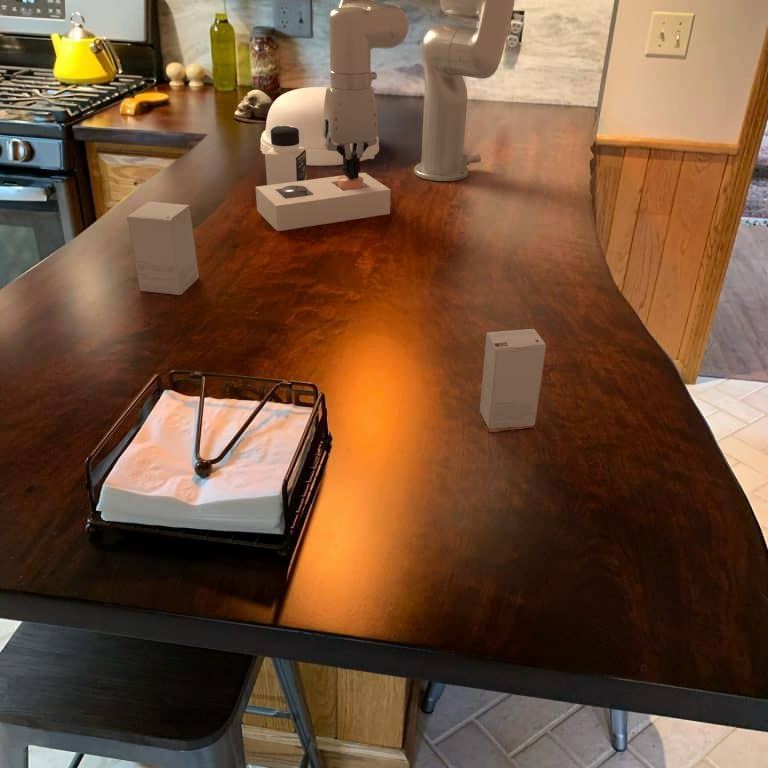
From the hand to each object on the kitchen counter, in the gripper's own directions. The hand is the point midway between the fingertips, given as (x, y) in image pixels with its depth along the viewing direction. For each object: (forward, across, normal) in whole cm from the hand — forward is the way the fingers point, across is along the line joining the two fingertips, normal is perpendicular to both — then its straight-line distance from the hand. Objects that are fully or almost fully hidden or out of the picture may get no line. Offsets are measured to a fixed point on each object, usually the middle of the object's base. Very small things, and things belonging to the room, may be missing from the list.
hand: (351, 176), depth 154 cm
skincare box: (+6, +14, +77) cm, 79 cm away
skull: (+7, -5, -78) cm, 79 cm away
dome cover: (+7, -11, -44) cm, 45 cm away
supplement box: (+6, +42, +21) cm, 48 cm away
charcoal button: (+5, +12, 0) cm, 13 cm away
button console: (+6, +6, 0) cm, 9 cm away
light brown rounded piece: (+4, 0, 0) cm, 4 cm away
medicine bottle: (+7, +6, -21) cm, 23 cm away
